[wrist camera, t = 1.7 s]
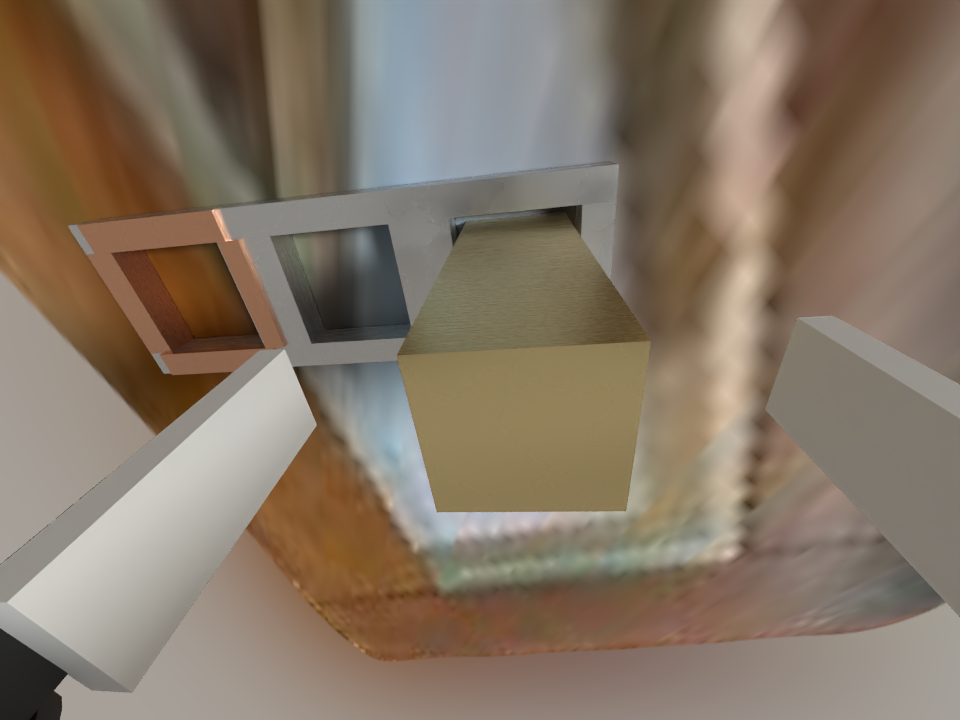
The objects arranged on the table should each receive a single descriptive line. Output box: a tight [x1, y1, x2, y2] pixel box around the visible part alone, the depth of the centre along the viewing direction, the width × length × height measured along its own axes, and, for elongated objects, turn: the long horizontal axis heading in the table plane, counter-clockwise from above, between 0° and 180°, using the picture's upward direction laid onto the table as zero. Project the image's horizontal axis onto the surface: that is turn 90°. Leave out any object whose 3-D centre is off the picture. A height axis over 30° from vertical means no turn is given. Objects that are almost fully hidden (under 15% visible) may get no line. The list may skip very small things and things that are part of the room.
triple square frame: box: [68, 161, 619, 375], centre depth 18 cm, size 8×24×2 cm, turn 96°
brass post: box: [396, 212, 651, 512], centre depth 13 cm, size 4×4×12 cm
